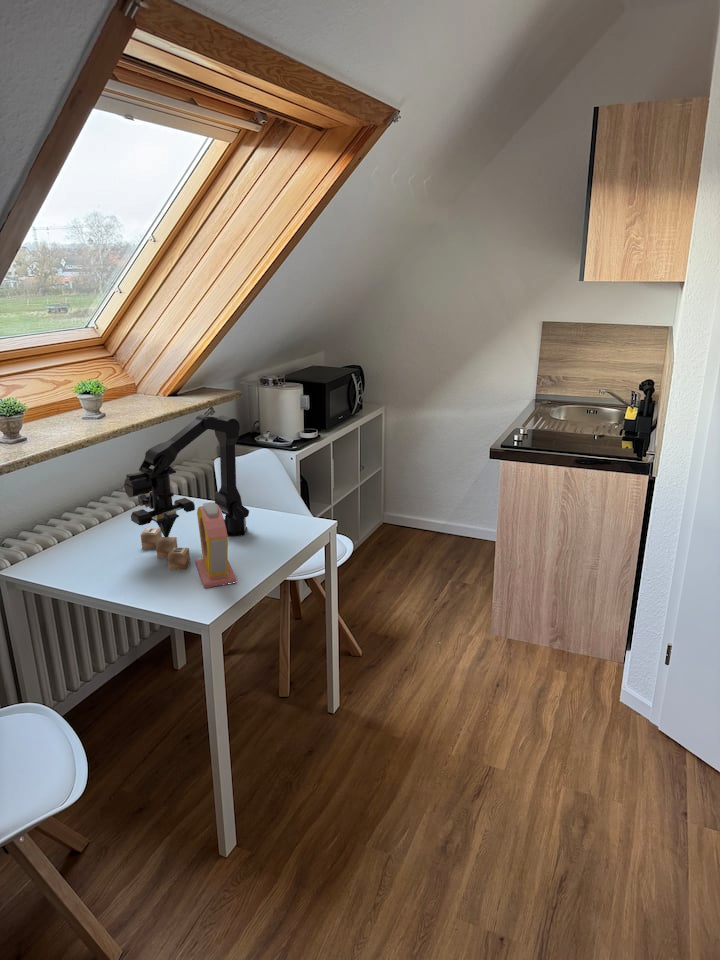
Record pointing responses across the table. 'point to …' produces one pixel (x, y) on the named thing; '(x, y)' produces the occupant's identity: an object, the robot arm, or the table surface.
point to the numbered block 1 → (150, 537)
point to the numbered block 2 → (178, 558)
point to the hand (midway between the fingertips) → (166, 536)
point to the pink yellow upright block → (213, 547)
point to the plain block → (165, 546)
